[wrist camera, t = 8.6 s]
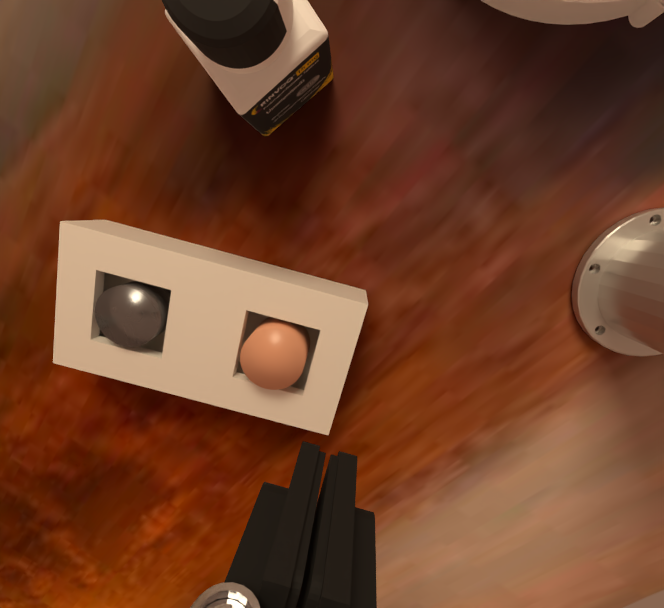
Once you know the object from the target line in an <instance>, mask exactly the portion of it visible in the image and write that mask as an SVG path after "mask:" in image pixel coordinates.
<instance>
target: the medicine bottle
mask: <svg viewBox="0 0 664 608" xmlns="http://www.w3.org/2000/svg"><path fill="white" fill-rule="evenodd" d="M162 2H163V4H164V6H165V8H166V9H165V14H166V17H167V19H168V20H169V21H170V23H171V24H172V25H173V27H174V28H175V30H176V31H177V32H178V34H179V35H180V36H181V38H182V39H183V40H184V42H185V43H186V44H187V46H188V47H189V48H190V50H191V51H192V53H193V54H194V55H195V57H196V58H197V59H198V61H199V62H200V63H201V65H202V66H203V67H204V69H205V70H206V71H207V73H208V74H209V75H210V77H211V78H212V80H213V81H214V82H215V84H216V85H217V86H218V88H219V89H220V90H221V92H222V93H223V94H224V96H225V97H226V98H227V100H228V101H229V102H230V104H231V105H232V107H233V108H234V109H235V111H236V112H237V113H238V114H239V115H240V116H242V117H243V118H244V119H245V120H246V121H247V122H248V123H249V124H251V125H252V126H253V127H254V128H255V129H256V130H257V131H259V132H260V133H261V134H262V135H263V136H269V135H270V134H271V133H272V132H273V131H274V130H275V129H277V128H278V127H279V126H280V125H281V124H282V123H283V122H285V121H286V120H287V119H288V118H289V117H290V116H291V115H293V114H294V113H295V112H296V111H297V110H298V109H299V108H301V107H302V106H303V105H304V104H305V103H306V102H307V101H309V100H310V99H311V98H312V97H313V96H314V95H315V94H317V93H318V92H319V91H320V90H321V89H322V88H323V87H325V86H326V85H327V84H328V83H329V82H330V81H331V80H332V79H333V69H332V61H331V53H330V45H329V38H328V32H327V30H326V28H325V27H324V25H323V24H322V22H321V21H320V19H319V18H318V16H317V15H316V13H315V11H314V10H313V8H312V7H311V5H310V4H309V2H308V1H307V0H162Z"/></svg>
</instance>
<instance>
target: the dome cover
mask: <svg viewBox="0 0 664 608" xmlns="http://www.w3.org/2000/svg"><path fill="white" fill-rule="evenodd" d="M481 1H482V2H484V3H486V4H488V5H489V6H491V7H493V8H495V9H498V10H500V11H502V12H505V13H507V14H509V15H513V16H516V17H519V18H523V19H526V20H530V21H536V22H542V23H548V24H563V25H572V24H589V23H596V22H602V21H608V20H612V19H616V18H620V17H624V16H628V19H629V22H630V24H631V25H632V26H633V27H636V28H640V27H643V26H645V25H647V24H648V23H650V22H651V21H652V20H654V19H655V18H657V17H658V16H659V15H661V14H662V13H664V0H481Z"/></svg>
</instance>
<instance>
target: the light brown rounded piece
mask: <svg viewBox="0 0 664 608" xmlns="http://www.w3.org/2000/svg"><path fill="white" fill-rule="evenodd" d="M309 348H310V337H309V334H308V331H307V329H306V328H305V327H304V326H303V325H299V324H296V323H292V322H288V321H285V320H281V319H277V318H273V317H268V318H266V319H265V320H263V321H262V322H261V323H260V324H259V326H258V327H257V328H256V329H255V330H254V332H253V333H252V334H251V335H250V337H249V338H248V339H247V340H246V341H245V343H244V344H243V347H242V349H241V353H240V363H241V367H242V369H243V372H244V373H245V375H246V376H247V377H248V379H249V380H250V381H252V382H253V383H254V384H256V385H257V386H260V387H262V388H265V389H270V390H279V389H283V388H286V387H289V386H290V385H292V384H293V383H295V382H296V381H297V380H298V379H299V377H300V376H301V374H302V371H303V368H304V365H305V362H306V359H307V355H308V352H309Z"/></svg>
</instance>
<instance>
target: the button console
mask: <svg viewBox="0 0 664 608" xmlns="http://www.w3.org/2000/svg"><path fill="white" fill-rule="evenodd" d="M135 280H136V281H139V282H143V283H147V284H151V285H154V286H158V287H162V288H165V289H169V290H171V296H170V303H169V310H168V317H167V324H166V331H164V332H163V333H161V334H160V335H158V336H156V337H155V338H153V339H152V340H150V341H149V342H147V343H145V344H143V345H141V346H138V347H125V346H121V345H118V344H116V343H114V342H112V341H111V340H109V339H108V338H107V337H106V336H105V335H104V334H103V333H102V331H101V330H100V328H99V326H98V324H97V322H96V318H95V305H96V302H97V300H98V298H99V296H100V295H101V294H102V293H103V292H104V291H106V290H107V289H109V288H112V287H115V286H119V285H122V284H125V283H128V282H131V281H135ZM367 307H368V300H367V295H366V290H363V289H359V288H356V287H352V286H348V285H344V284H341V283H337V282H333V281H330V280H326V279H322V278H319V277H315V276H311V275H308V274H304V273H300V272H296V271H293V270H289V269H285V268H282V267H278V266H274V265H271V264H267V263H263V262H260V261H256V260H252V259H249V258H245V257H241V256H237V255H234V254H230V253H226V252H223V251H219V250H215V249H212V248H208V247H204V246H201V245H197V244H193V243H190V242H186V241H182V240H178V239H175V238H171V237H167V236H164V235H160V234H156V233H153V232H149V231H145V230H142V229H138V228H134V227H131V226H127V225H123V224H119V223H116V222H112V221H108V220H82V221H60V233H59V253H58V272H57V292H56V312H55V332H54V352H53V363H55V364H59V365H63V366H67V367H71V368H74V369H78V370H82V371H86V372H89V373H93V374H97V375H101V376H105V377H108V378H112V379H116V380H120V381H124V382H127V383H131V384H135V385H139V386H143V387H146V388H150V389H154V390H158V391H162V392H165V393H169V394H173V395H177V396H181V397H184V398H188V399H192V400H196V401H200V402H203V403H207V404H211V405H215V406H218V407H222V408H226V409H230V410H234V411H237V412H241V413H245V414H249V415H253V416H256V417H260V418H264V419H268V420H272V421H275V422H279V423H283V424H287V425H291V426H294V427H298V428H302V429H306V430H310V431H313V432H317V433H321V434H325V435H329V432H330V429H331V425H332V422H333V419H334V415H335V412H336V409H337V406H338V402H339V399H340V396H341V392H342V389H343V386H344V383H345V379H346V376H347V373H348V369H349V366H350V363H351V360H352V356H353V353H354V350H355V346H356V343H357V340H358V337H359V333H360V330H361V327H362V323H363V320H364V317H365V314H366V310H367ZM268 317H273V318H277V319H281V320H285V321H288V322H292V323H296V324H299V325H303V326H304V327H305V328H306V329H307V331H308V334H309V337H310V348H309V352H308V355H307V359H306V362H305V365H304V368H303V371H302V374H301V376H300V377H299V379H298V380H297V381H296V382H295V383H293V384H292V385H290V386H289V387H286V388H283V389H279V390H270V389H265V388H262V387H260V386H257V385H256V384H254V383H253V382H252V381H250V380H249V379H248V377H247V376H246V375H245V373H244V372H243V369H242V367H241V363H240V353H241V349H242V347H243V344H244V343H245V341H246V340H247V339H248V338H249V337H250V335H251V334H252V333H253V332H254V330H255V329H256V328H257V327H258V326H259V324H260V323H261V322H262V321H263V320H265V319H266V318H268Z"/></svg>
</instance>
